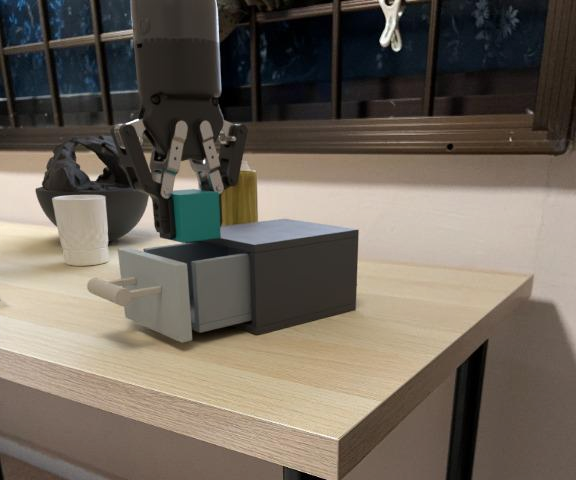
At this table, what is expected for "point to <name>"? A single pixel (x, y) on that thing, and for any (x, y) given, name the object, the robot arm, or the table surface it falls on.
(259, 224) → the grey drawer cabinet
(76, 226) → the white cup
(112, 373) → the table surface
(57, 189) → the bowl of black rocks
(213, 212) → the teal cube
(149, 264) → the pulled-out drawer
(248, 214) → the vase
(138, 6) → the robot arm
